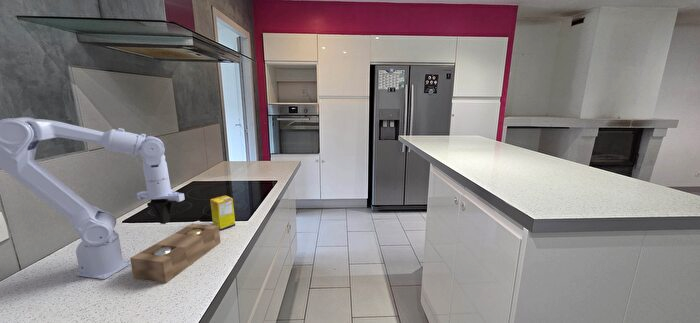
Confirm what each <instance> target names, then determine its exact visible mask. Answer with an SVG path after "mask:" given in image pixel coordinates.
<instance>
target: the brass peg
mask: <svg viewBox="0 0 700 323" xmlns="http://www.w3.org/2000/svg"><path fill="white" fill-rule="evenodd" d="M200 232H202V230H201V229H194V230H190V231H188V232H187V235H197V234H199V233H200Z"/></svg>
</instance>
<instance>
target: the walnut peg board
mask: <svg viewBox="0 0 700 323" xmlns="http://www.w3.org/2000/svg"><path fill="white" fill-rule="evenodd" d="M194 229H201V230H202V232H200V233H199V234H197V235H187V232H188V231H190V230H194ZM220 244H221V234H220V230H219V226H214V225H213V224H212V225H211V224H201V223H190V224H189V225H187V226H185V227H183V228H182V229H180V230H178V231H176V232H174V233H173V234H170V235H169V236H167V237H166V238H164V239H162V240H160V241H158V242H157V243H154V244H152V245H151V246H149V247H148V248H146V249H144V250H142V251H140V252H139V253H137V254H135V255H132V256H131V257H130V258H129V259H130V260H129V261H130V262H131V264H130V266H131V271H132V276H133V279H134V280H139V281H140V280H141V281H148V282H155V283H162V284H167V283H168V282H170V281H171V280H173V279H174V278H175V277H177V276H178V275H179V274H181V273H182V272H183V271H185V270H186V269H187V268H188V267H190V266H191V265H193V264H194V263H196V262H197V261H198V260H200V259H201V258H202V257H204V256H205V255H206V254H207V253H210V251H212V250H213V249H215V247H217V246H218V245H220ZM164 247H170V248H171V251H170V252H168V253H167V254H165V255H163V256H159V255H154V252H155V251H156V250H158V249H160V248H164Z"/></svg>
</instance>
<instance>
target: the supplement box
mask: <svg viewBox="0 0 700 323" xmlns="http://www.w3.org/2000/svg"><path fill="white" fill-rule="evenodd" d="M210 210H211V219H212V225H214V226H219V232H220V231H223V230H226V229H229V228H232V227H235V226H236V217H235V208H234V199H233V198H232V197H230V196H228V195H221V196H217V197H215V198H214V197H213V198H211V199H210Z"/></svg>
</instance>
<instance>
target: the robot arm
mask: <svg viewBox="0 0 700 323" xmlns="http://www.w3.org/2000/svg"><path fill="white" fill-rule="evenodd" d="M56 138H57V139H58V138H62V139H67V140H74V141H81V142H87V143H93V144H99V145H102V147H104V149H105V150H106V151H111V152H116V153H120V154H121V153H123V154H127V155H133V156H137V155H140V156H141V159H142V162H143V163H142V169H143V174H144V179H145V181H144V182H145V186H146V187H145V188H146V191H144V190H143V191H140V192H136V198H137V200H150V201H149V202H147V203H146V205H147V207H149V209H150V210H151V211H152V212H153V213H154V215H155V216H156V218H157V220H158V222H159V224H160V225H166V224H168V223H169V222H171V220H170V219H171V213H172V209H173V206H174V204H175V202H177V203H179V202H182V201H184V200H185V193H182V192H178V191H175V190H174V189H172V187H171V181H170V176H169V169H168V163H167V161H166V155H165V151H166V148H165V146H164V142H163V141H162V140H161V139H160V138H158V137H155V136H154V135H148V136H147V134H146V133H141V134H137V133H135V132H134V133H133V132H128V131H125V128H120V127H118V129H114V128H112V129H110V130H107V131H105V132H104V131H101V130H96V129H91V128H87V127H84V126H79V125H76V124H75V125H74V124H71V123H68V122H67V123H66V122H62V121H59V120H58V121H57V120H52V119H51V120H50V119H45V118H44V119H41V118H36V119H35V118H33V117H29V116H21V117H17V118H9V117H8V118H3V119H0V168H1V170H2V171H4V172H5V173H6V174H7V175H10V177H12V178H13V179H14V180H16V181H17V182H18V183H20V184H21V185H23V186H24V187H25V188H26V189H28V190H29V191H30V192H32V193H33V194H34V195H36V196H37V197H39V198H40V199H41V200H42V201H44V202H45V203H46V204H48V205H49V206H50V207H52V208H53V209H54V210H56V211H57V212H58V213H59V214H61V215H63V216H64V217H65V218H66V219H67V220H69V223H70V224H71V227H72V229H73V231H75V232H76V233H77V234H79V238H80V240H81V242H80V243H79V244H78V245H77V246H76V250H75V255H76V259H77V264H78V269H79V271H78V272H77V273H76V276H79V277H84V278H86V277H87V278H91V279H93V278H94V279H98V280H100V279H101V280H105V279H107V278H109V277H110V276H112V275H114V274H116V273H118V272H120V271H121V270H123V269H125V268H126V267H129V266H131V260H124V258H123V253H122V246H121V242H120V237H119V233H118V232H116V231H115V230H114V229H115V227H116V225H117V218H116V216H115V215H114V214H113V213H111V212H108V211H104V210H103V209H100V208H99V207H98V206H95V205H92V204H90V203H88V201H86V200H85V199H83V198H82V196H80V195H78V194H77V193H76V192H74V190H73V189H71V188H70V187H68V186H67V185H66V184H65V183H63V181H61V180H60V179H59V178H57V177H56V176H55V175H54V174H53V173H51V172H50V171H49V170H48V169H46V168H45V167H44V166H43V165H41V163H40V162H38V161H37V160H35V156H36V153H37V147H38V146H39V145H40V143H41V141H45V140H50V139H56Z"/></svg>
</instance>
